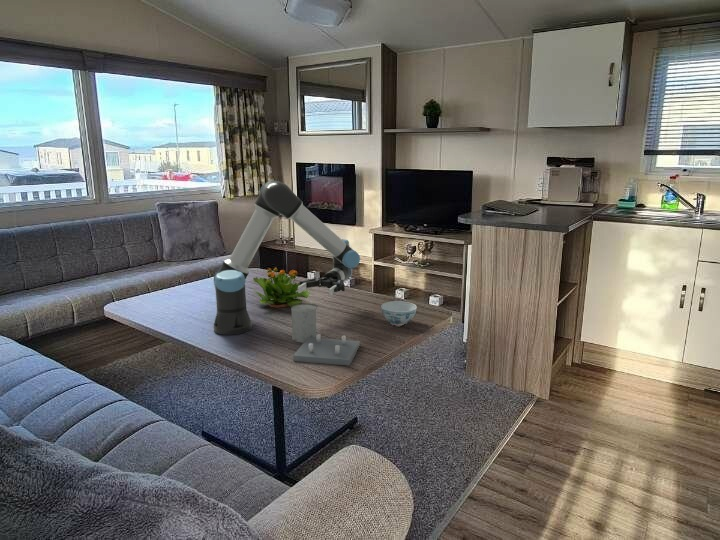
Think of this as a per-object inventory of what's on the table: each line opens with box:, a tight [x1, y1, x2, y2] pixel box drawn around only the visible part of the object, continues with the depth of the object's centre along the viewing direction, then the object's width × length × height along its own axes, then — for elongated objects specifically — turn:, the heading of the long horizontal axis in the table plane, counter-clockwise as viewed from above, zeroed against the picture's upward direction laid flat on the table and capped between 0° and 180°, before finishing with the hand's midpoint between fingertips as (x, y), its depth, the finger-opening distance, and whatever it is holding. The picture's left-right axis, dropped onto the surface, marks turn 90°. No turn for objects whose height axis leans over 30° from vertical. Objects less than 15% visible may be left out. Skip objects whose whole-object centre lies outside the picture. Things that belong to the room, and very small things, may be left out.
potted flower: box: [252, 267, 311, 309], centre depth 234 cm, size 25×24×18 cm
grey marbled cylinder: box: [290, 303, 317, 343], centre depth 192 cm, size 10×10×12 cm
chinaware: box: [380, 300, 418, 325], centre depth 209 cm, size 15×15×8 cm
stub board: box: [292, 333, 361, 366], centre depth 178 cm, size 20×18×5 cm
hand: (314, 291), depth 199 cm, fingers open, 13 cm apart
